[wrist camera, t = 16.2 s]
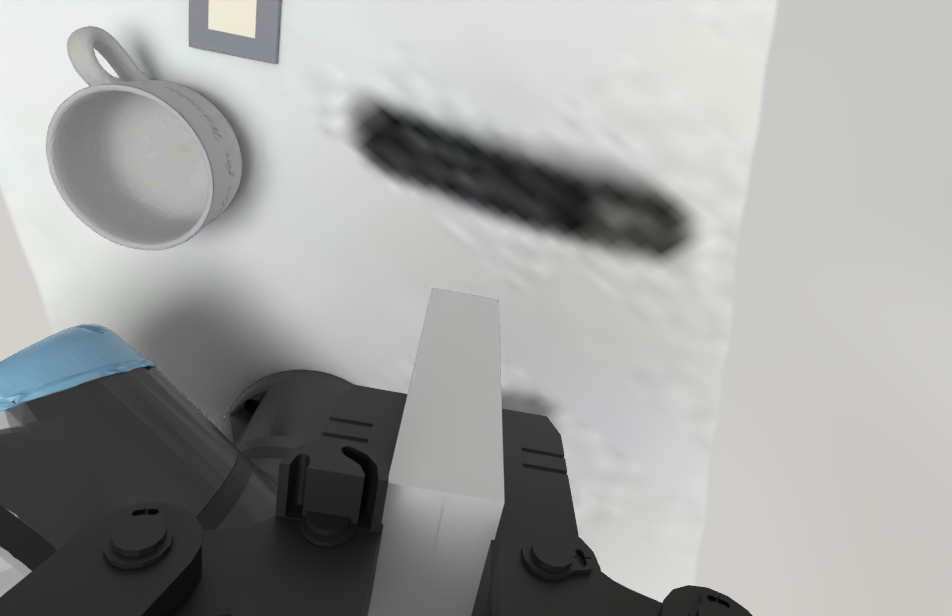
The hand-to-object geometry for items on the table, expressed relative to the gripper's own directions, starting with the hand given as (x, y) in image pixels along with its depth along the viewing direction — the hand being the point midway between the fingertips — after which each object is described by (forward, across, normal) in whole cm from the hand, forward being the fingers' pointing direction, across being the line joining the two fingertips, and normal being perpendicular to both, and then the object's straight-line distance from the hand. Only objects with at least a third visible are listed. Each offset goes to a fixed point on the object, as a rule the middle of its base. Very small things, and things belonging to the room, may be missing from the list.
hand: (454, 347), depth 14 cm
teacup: (+35, +22, +4) cm, 41 cm away
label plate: (+34, +18, -6) cm, 39 cm away
